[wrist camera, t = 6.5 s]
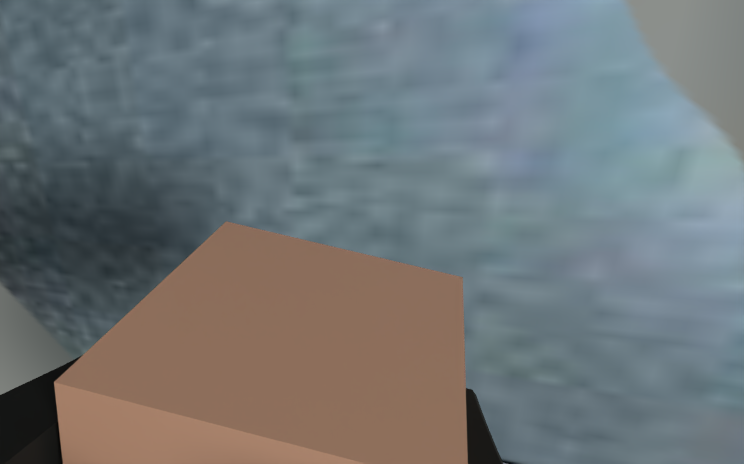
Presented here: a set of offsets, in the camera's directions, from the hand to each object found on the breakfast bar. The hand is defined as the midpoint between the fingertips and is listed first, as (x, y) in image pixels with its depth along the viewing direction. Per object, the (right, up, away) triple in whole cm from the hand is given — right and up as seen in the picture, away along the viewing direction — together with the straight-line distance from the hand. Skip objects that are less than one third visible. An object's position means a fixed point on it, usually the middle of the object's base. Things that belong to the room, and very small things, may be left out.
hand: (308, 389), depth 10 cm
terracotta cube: (0, +1, +1) cm, 1 cm away
